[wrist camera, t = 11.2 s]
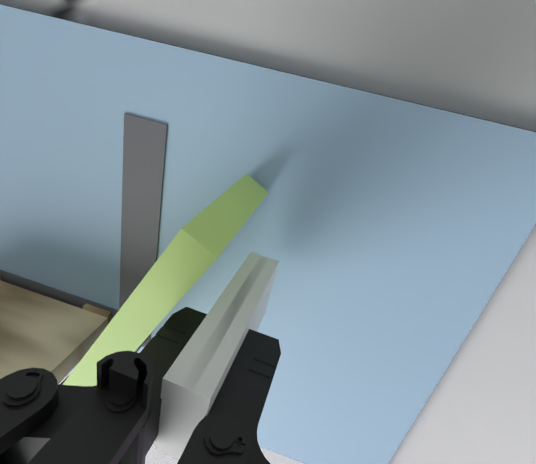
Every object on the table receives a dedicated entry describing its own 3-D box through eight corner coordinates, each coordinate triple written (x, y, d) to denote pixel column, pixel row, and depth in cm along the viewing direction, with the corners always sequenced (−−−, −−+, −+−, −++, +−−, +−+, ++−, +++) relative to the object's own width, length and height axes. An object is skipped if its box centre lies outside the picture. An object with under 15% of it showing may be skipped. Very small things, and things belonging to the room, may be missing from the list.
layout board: (-17, 335, 24) (-26, 340, 24) (-90, -18, 15) (-106, -21, 15) (371, 480, 21) (372, 490, 21) (576, 141, 12) (586, 144, 11)
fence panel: (151, 326, 19) (71, 422, 14) (134, 313, 19) (47, 404, 13) (268, 192, 14) (217, 258, 9) (246, 173, 14) (181, 228, 9)
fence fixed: (-10, 283, 22) (-169, 371, 15) (-14, 259, 21) (-184, 341, 14) (153, 340, 21) (55, 464, 14) (155, 317, 20) (53, 436, 13)
